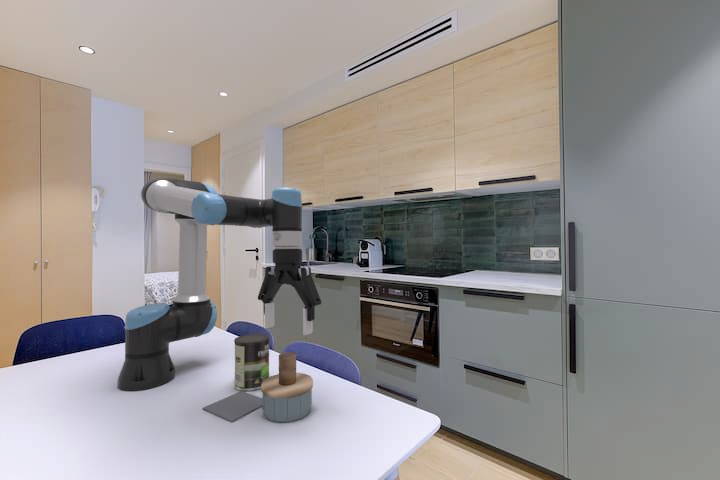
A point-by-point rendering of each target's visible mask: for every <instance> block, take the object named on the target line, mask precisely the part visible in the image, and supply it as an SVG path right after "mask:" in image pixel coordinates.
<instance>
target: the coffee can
mask: <svg viewBox="0 0 720 480" xmlns="http://www.w3.org/2000/svg"><path fill="white" fill-rule="evenodd" d="M233 341H234V388H235V389H236V390H238V391H244V392H251V391H256V390H257V391H258V390H261V384H262V382H263V381H264V380H265V379H267V378H269V377H270V335H268V334H265V333H249V334H244V335H240V336H237V337H235V338H234V340H233Z"/></svg>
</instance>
